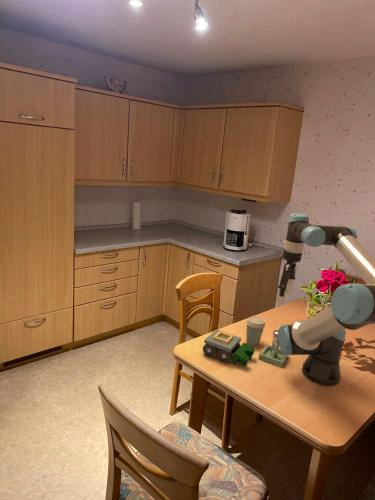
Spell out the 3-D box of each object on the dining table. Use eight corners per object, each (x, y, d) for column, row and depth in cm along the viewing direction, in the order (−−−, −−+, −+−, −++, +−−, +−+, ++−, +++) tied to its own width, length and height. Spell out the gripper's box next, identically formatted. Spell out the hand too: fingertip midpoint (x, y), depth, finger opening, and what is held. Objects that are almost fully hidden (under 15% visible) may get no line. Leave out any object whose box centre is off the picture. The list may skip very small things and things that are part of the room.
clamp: (240, 375, 156) (245, 364, 150) (228, 367, 158) (232, 355, 152) (253, 355, 164) (258, 343, 157) (242, 348, 166) (246, 336, 160)
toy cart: (239, 353, 164) (242, 335, 162) (229, 365, 154) (232, 347, 152) (213, 343, 170) (215, 326, 168) (201, 354, 160) (203, 336, 158)
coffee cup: (253, 350, 168) (257, 326, 165) (239, 342, 174) (243, 318, 171) (265, 345, 174) (269, 322, 170) (251, 337, 180) (254, 314, 176)
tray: (288, 357, 165) (289, 352, 165) (282, 367, 157) (283, 362, 156) (265, 349, 170) (266, 344, 169) (258, 359, 161) (259, 354, 161)
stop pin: (279, 356, 164) (284, 331, 161) (276, 360, 160) (281, 335, 157) (270, 353, 166) (274, 328, 163) (267, 357, 162) (272, 332, 159)
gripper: (290, 243, 167) (282, 287, 173) (276, 255, 145) (267, 305, 151) (307, 246, 164) (298, 291, 170) (296, 259, 142) (286, 310, 148)
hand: (284, 297), depth 160 cm, fingers open, 13 cm apart
